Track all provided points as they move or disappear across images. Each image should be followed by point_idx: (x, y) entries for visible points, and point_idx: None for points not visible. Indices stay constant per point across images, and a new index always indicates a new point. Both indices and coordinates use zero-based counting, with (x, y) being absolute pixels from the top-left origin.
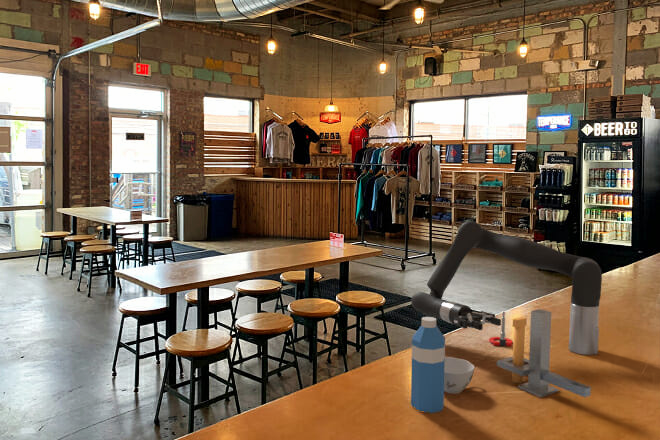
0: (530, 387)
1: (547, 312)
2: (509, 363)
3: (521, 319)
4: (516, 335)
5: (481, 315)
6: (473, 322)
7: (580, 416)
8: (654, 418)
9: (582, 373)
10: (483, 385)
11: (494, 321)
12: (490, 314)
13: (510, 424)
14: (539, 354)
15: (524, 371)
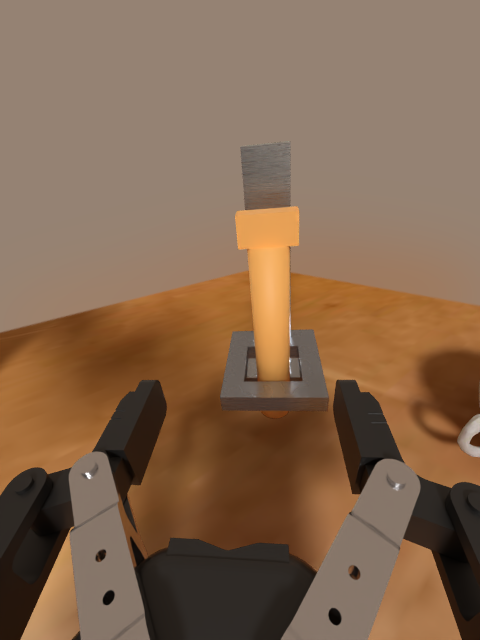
0: (291, 360)
1: (257, 144)
2: (305, 368)
3: (270, 209)
4: (289, 274)
5: (131, 549)
6: (379, 453)
7: (298, 297)
8: (220, 277)
9: (105, 367)
10: (399, 434)
11: (147, 432)
12: (29, 508)
13: (435, 313)
14: None
15: (307, 331)
